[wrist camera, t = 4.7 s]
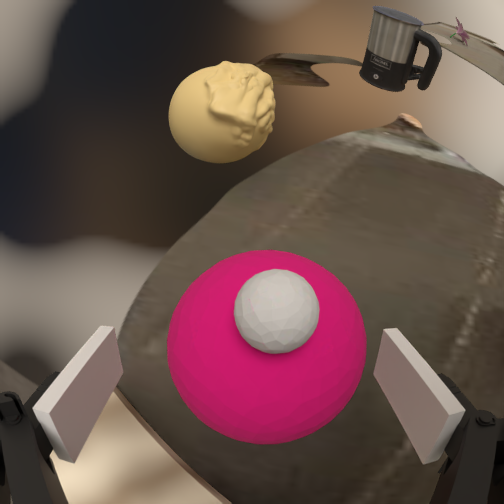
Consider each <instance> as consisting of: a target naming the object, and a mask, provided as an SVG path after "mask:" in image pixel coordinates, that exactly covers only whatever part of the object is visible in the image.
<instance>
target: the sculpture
mask: <svg viewBox="0 0 504 504" xmlns="http://www.w3.org/2000/svg"><path fill="white" fill-rule="evenodd" d="M272 90H273V82H272V79H271V76H270V75H269V74H267V73H264V72H262V71H261V70H260V69H259V68H257V67H255V66H254V65H251V64H240V63H231V62H227V61H223V62H222V63H221V64H220V65H217V66H214V67H208V68H204V69H201V70H199V71H197V72H195V73H193V74H191V75H190V76H188V77H187V78H186V79H185V80H184V81H183V82H182V83H181V84H180V85H179V86H178V88H177V89H176V91H175V93H174V95H173V97H172V100H171V104H170V108H169V124H170V129H171V132H172V135H173V137H174V139H175V140H176V142H177V144H178V145H179V146H180V147H181V148H182V149H183V150H184V151H185V152H186V153H187V154H189V155H190V156H192V157H194V158H196V159H199V160H202V161H205V162H210V163H230V162H235V161H238V160H240V159H242V158H244V157H246V156H248V155H249V154H250V153H252V152H253V151H256V150H258V149H260V148H261V146H262V145H263V144H264V143H265V141H266V139H267V136H268V134H269V133H271V132H272V130H273V128H272V125H271V124H272V123H273V122H274V119H275V114H274V109H275V99H274V93H273V91H272Z"/></svg>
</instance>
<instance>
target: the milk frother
mask: <svg viewBox="0 0 504 504" xmlns="http://www.w3.org/2000/svg"><path fill="white" fill-rule="evenodd" d="M373 9H374V14H373V19H372V24H371V29H370V34H369V39H368V45H367V49H366V53H365V57H364V61H363V65H362V68H361V70H360V72H359V74H360V76H361V77H362V78H363V79H364V80H365V81H366V82H368V83H370V84H371V85H373V86H376V87H378V88H381V89H384V90H388V91H393V92H394V91H395V92H398V91H402V90H404V89H405V84H406V83H407V80H415V79H419V81H418V88H419V89H420V90H426V89H427V88H428V87H429V85H430V82H431V80H432V78H433V76H434V74H435V71H436V69H437V67H438V64H439V62H440V60H441V56H442V50H441V46H440V44H439V42H438V41H437V40H436V39H435V38H434V37H433V36H432V35H430V34H428V33H426V32H424V31H423V30H421V29H420V28H421V26H422V25H424V24H423V23H422V22H421V21H420V20H418V19H417V18H415V17H412V16H410V15H408V14H406V13H403V12H400V11H397V10H394V9H390V8H386V7H381V6H373ZM419 41H420V42H422V43H424V44H425V45H426V46H427V47H428V48H429V57H428V59H427V62H426V64H425V66H424V68H423V67H420V66H416V65H413V61H414V57H415V54H416V51H417V46H418V43H419ZM416 73H420V74H416Z"/></svg>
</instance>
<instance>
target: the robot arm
mask: <svg viewBox="0 0 504 504" xmlns="http://www.w3.org/2000/svg"><path fill="white" fill-rule="evenodd" d="M122 374H123V368H122V364H121V359H120V354H119V350H118V344H117V339H116V334H115V328H114V327H109V326H100V327H99V328H98V329H97V330H96V332H95V333H94V334H93V335H92V336H91V337H90V339H89V340H88V341H87V342H86V343H85V345H84V346H83V347H82V348H81V349H80V350H79V351H78V353H77V354H76V355H75V356H74V358H73V359H72V360H71V361H70V362H69V363H68V365H67V366H66V367H65V368H64V369H63V371H62V372H61V373H60V372H54V373H53V374H51V375H49V376H48V377H47V378H46V379H45V380H44V381H43V382H42V383H41V385H40V386H39V387H38V388H37V389H36V390H37V391H35V392H34V393H33V394H32V395H31V397H30V398H29V399H28V400H27V402H26V403H25V404H24V405H23V404H22V402H21V400H20V398H19V395H17V394H16V393H14V392H10V391H9V392H2V393H0V504H10V495H11V497H12V501H13V504H69V503H68V501H67V498H66V496H65V493H64V491H63V488H62V486H61V483H60V481H59V478H58V475H57V472H56V470H55V467H54V464H53V461H52V459H51V457H50V454H51V452H52V451H53V450H54V452H55V453H56V455H57V457H58V459H61V460H64V461H67V462H70V463H73V464H75V462H76V460H77V458H78V456H79V454H80V452H81V450H82V448H83V446H84V444H85V442H86V440H87V439H88V437H89V435H90V433H91V431H92V429H93V427H94V425H95V423H96V421H97V420H98V418H99V416H100V414H101V412H102V410H103V408H104V407H105V405H106V403H107V401H108V399H109V398H110V396H111V394H112V392H113V390H114V388H115V387H116V385H117V383H118V381H119V380H120V378H121V376H122ZM373 375H374V376H375V378H376V380H377V382H378V383H379V385H380V387H381V389H382V390H383V392H384V394H385V396H386V397H387V399H388V401H389V403H390V405H391V406H392V408H393V410H394V412H395V414H396V415H397V417H398V419H399V421H400V423H401V424H402V426H403V428H404V430H405V432H406V434H407V435H408V437H409V439H410V441H411V443H412V445H413V447H414V449H415V450H416V452H417V454H418V456H419V458H420V460H421V462H422V464H423V465H424V464H427V463H430V462H434V461H437V460H439V458H440V457H441V455H442V453H443V452H444V450H445V451H446V453H447V455H448V457H447V459H446V461H445V462H444V464H443V465H442V467H441V468H440V470H439V471H438V473H441V475H440V478H439V481H438V483H437V486H436V489H435V491H434V494H433V497H432V499H431V502H430V504H486V502H488V504H504V418H501V419H497V418H496V417H495V415H493V414H492V413H491V412H488V411H485V410H478V411H477V410H476V408H475V407H474V406H473V405H472V404H471V402H470V401H469V400H468V399H467V398H466V396H465V395H464V394H463V393H461V391H460V389H459V388H458V387H456V385H455V384H454V382H453V381H452V380H451V379H450V378H448V377H447V376H445V375H443V374H442V373H441V374H436V373H435V372H434V371H433V370H432V368H431V367H430V366H429V365H428V364H427V362H426V361H425V360H424V359H423V358H422V357H421V355H420V354H419V353H418V352H417V351H416V350H415V348H414V347H413V346H412V345H411V344H410V343H409V341H408V340H407V339H406V338H405V337H404V336H403V335H402V333H401V332H400V331H399V330H398V329H397V328H392V329H383V334H382V339H381V343H380V348H379V353H378V357H377V361H376V365H375V369H374V374H373ZM441 471H442V472H441Z"/></svg>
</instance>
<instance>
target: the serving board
mask: <svg viewBox="0 0 504 504" xmlns="http://www.w3.org/2000/svg"><path fill="white" fill-rule="evenodd" d="M50 457H51V459H52V461H53V464H54V467H55V470H56V472H57V475H58V478H59V481H60V483H61V486H62V488H63V491H64V493H65V496H66V498H67V501H68V503H69V504H232V503H231V502H230V501H229V500H227V499H226V498H225V497H224V496H223V495H221V494H220V493H219V492H218V491H217V490H215V489H214V488H213V487H212V486H211V485H210V484H208V483H207V482H206V481H205V480H204V479H203V478H202V477H201V476H199V475H198V474H197V473H196V472H195V471H194V470H193V469H192V468H191V467H190V466H189V465H188V464H186V463H185V462H184V461H183V460H182V459H181V458H180V457H179V456H178V455H177V454H176V453H175V452H174V451H173V450H172V449H171V448H170V447H169V446H168V445H167V444H166V443H165V442H164V441H163V440H162V439H161V437H160V436H159V435H158V434H157V433H156V432H155V431H154V430H153V429H152V428H151V427H150V426H149V424H148V423H147V422H146V421H145V420H144V419H143V418H142V417H141V415H140V414H139V413H138V412H137V411H136V410H135V409H134V407H133V406H132V405H131V404H130V403H129V401H128V400H127V399H126V398H125V397H124V395H123V394H122V393H121V392H120V390H119V389H118V388H117V387H115V388H114V390H113V392H112V394H111V396H110V398H109V399H108V401H107V403H106V405H105V407H104V408H103V410H102V412H101V414H100V416H99V418H98V420H97V421H96V423H95V425H94V427H93V429H92V431H91V433H90V435H89V437H88V439H87V440H86V442H85V444H84V446H83V448H82V450H81V452H80V454H79V456H78V458H77V460H76V462H75V464H73V463H70V462H67V461H64V460H61V459H58V457H57V455H56V453H55V452H54V450H53V451H52V452H51V454H50Z"/></svg>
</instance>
